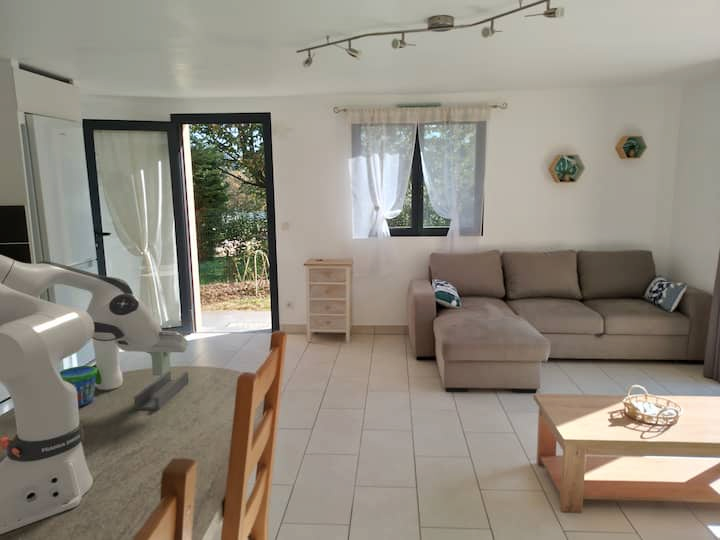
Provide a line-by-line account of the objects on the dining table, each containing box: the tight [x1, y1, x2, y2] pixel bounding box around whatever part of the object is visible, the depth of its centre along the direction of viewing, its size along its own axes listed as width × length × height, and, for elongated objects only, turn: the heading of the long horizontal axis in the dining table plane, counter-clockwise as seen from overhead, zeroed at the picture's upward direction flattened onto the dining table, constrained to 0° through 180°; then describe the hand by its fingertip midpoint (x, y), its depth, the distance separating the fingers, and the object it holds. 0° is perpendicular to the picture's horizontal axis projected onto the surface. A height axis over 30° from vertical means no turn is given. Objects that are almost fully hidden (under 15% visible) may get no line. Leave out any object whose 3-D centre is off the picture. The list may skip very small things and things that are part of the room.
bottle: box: [91, 338, 124, 391], centre depth 159 cm, size 8×8×30 cm
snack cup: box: [59, 365, 102, 407], centre depth 147 cm, size 16×10×10 cm
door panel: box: [151, 352, 171, 377], centre depth 152 cm, size 6×3×10 cm, turn 178°
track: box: [133, 370, 190, 411], centre depth 154 cm, size 22×7×4 cm, turn 177°
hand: (161, 354), depth 153 cm, fingers closed on door panel, 3 cm apart
